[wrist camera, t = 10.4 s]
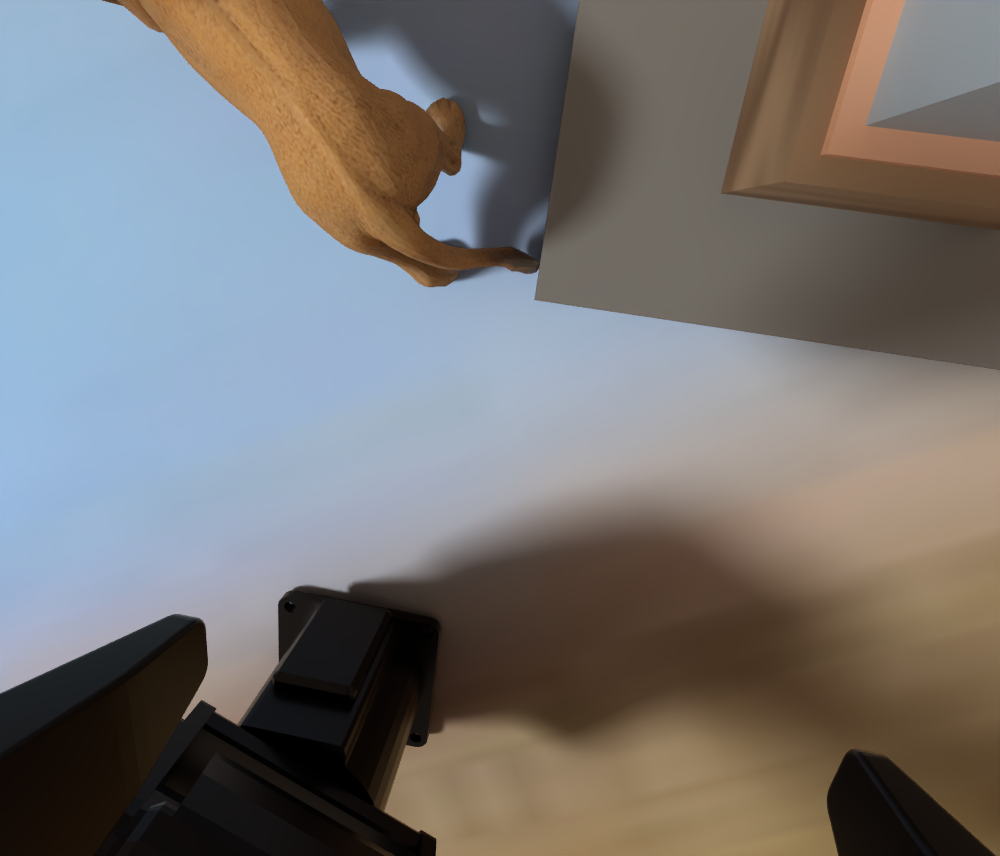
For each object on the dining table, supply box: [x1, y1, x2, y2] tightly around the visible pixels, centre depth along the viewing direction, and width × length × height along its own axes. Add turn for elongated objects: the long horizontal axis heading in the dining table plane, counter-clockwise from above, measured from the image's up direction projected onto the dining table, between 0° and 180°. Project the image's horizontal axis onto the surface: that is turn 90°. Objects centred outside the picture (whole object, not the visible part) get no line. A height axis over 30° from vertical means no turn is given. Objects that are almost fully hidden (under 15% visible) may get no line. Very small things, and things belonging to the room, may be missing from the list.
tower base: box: [535, 0, 1000, 370], centre depth 12 cm, size 14×16×6 cm
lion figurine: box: [103, 0, 540, 287], centre depth 12 cm, size 15×5×9 cm, turn 52°
